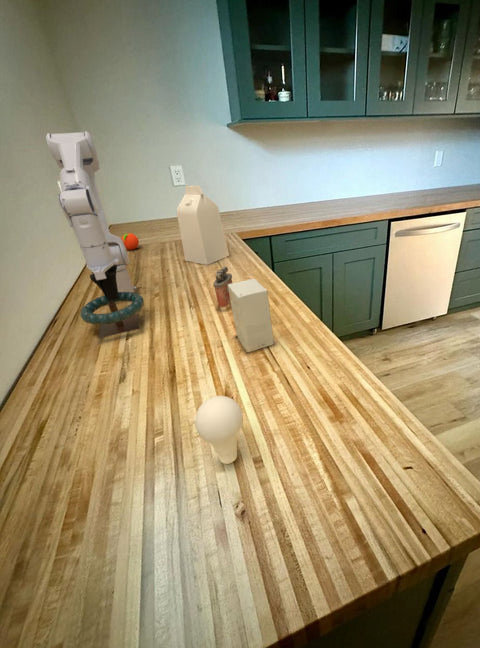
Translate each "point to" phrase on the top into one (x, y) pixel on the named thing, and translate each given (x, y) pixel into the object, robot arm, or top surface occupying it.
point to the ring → (112, 317)
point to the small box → (251, 314)
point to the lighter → (222, 286)
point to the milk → (201, 228)
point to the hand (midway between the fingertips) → (113, 297)
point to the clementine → (130, 241)
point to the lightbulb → (220, 425)
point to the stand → (119, 324)
